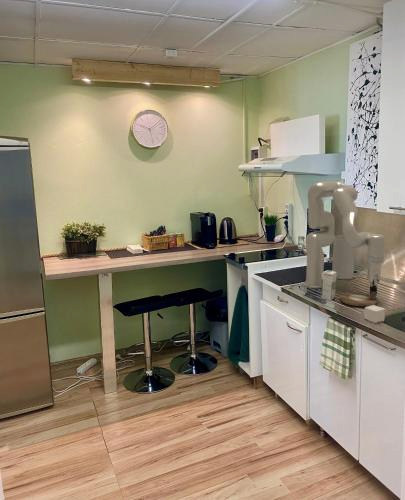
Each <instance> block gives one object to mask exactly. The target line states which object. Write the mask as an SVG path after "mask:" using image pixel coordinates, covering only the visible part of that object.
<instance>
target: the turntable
mask: <svg viewBox="0 0 405 500" xmlns="http://www.w3.org/2000/svg"><path fill="white" fill-rule="evenodd" d="M339 301H340V302H342V303H343V304H346V305H348V306H349V305H350V306H354V307H369V306H372V305H375V306H376V305H377V304H378V297H377V295H376V292H375V291H371V295H370V293H367V292H359V291H348V292H346V291H345V292H343V293H341V294H340V295H339Z"/></svg>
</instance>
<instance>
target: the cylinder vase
mask: <svg viewBox="0 0 405 500" xmlns="http://www.w3.org/2000/svg"><path fill="white" fill-rule="evenodd" d="M332 244H333V249H332V268H331V269H332V270H331V271H334V272H337V273H336V280H344V281H345V280H352V279H353V278H354V275H355V274H354V272H355V259H356V258H355V255H356V254H355V253H356V248H352V247H351V246H350V245H349V244H348V243H347V241H346V239H345V237H344V235H343V234H342V235H334V241H333V243H332Z"/></svg>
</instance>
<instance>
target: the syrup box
mask: <svg viewBox="0 0 405 500" xmlns="http://www.w3.org/2000/svg"><path fill="white" fill-rule="evenodd" d="M336 273H337V272H334V271H332V270H325V271H324V272H322V281H321V288H320V299H321V298H322V299H321V300H325V299H326V301H333V300H334V299H335V298H336V287H337V278H336Z"/></svg>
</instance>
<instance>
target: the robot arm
mask: <svg viewBox="0 0 405 500" xmlns="http://www.w3.org/2000/svg"><path fill="white" fill-rule="evenodd" d="M358 196H359V195H358V191H357V189H356V188H355V187H354V186H351V185H348V184H346V183H344V182H343V183H342V182H340V181H337V180H328V181H327V180H326V181H318V182H315V183H312V185H310V186H309V188H308V189H307V204H308V205H307V206H308V209H307V213H308V214H307V215H308V217H307V219H308V222H307V223H308V224H307V225H308V227H309V229H311V230H316V231H312V232H310V233H308V234H307V235H306V237H305V245H306V246H305V247H306V271H305V272H306V276H305V278H306V279H305V281H303V282H302V283H303V286H304V287H305V288H309V289H321V281H322V272H324V269H325V267H324V266H325V254H324V251H323V248H326V247H329V246H332V244H334V236H335V217H334V215H333V214H332V213H331V212H330V211H327V210H326V211H325V204H324V201H323V199H322V198H330V197H331V198H332V200H333V202H334V204H335V206H336V207H337V209H338V211H339V214H340V216H341V219H342V222H341V232H342V235H344V237H345V239H346V241H347V243H348V244H349V245H350V246H351V247H352V248H355V249H361V248H366V247H367V253H366V254H367V256H366V262H367V263H368V264H367V272H366V273H367V274H366V279H367V281H368V282H369V294H370V295H371V291H375V292H376V296H377V294H378V283H380V281H381V273H382V271H381V267H382V265H381V264H384V256H385V255H384V254H385V240H386V239H385V235H384V234H382V233H380V234H379V233H373V232H369V231H362V232H358V231H357V230H356V227H355V224H354V221H355V218H356V217H357V216H358V214H359V209H358V207H357V205H356V204H355V201H356V200H357V199H358Z"/></svg>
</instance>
